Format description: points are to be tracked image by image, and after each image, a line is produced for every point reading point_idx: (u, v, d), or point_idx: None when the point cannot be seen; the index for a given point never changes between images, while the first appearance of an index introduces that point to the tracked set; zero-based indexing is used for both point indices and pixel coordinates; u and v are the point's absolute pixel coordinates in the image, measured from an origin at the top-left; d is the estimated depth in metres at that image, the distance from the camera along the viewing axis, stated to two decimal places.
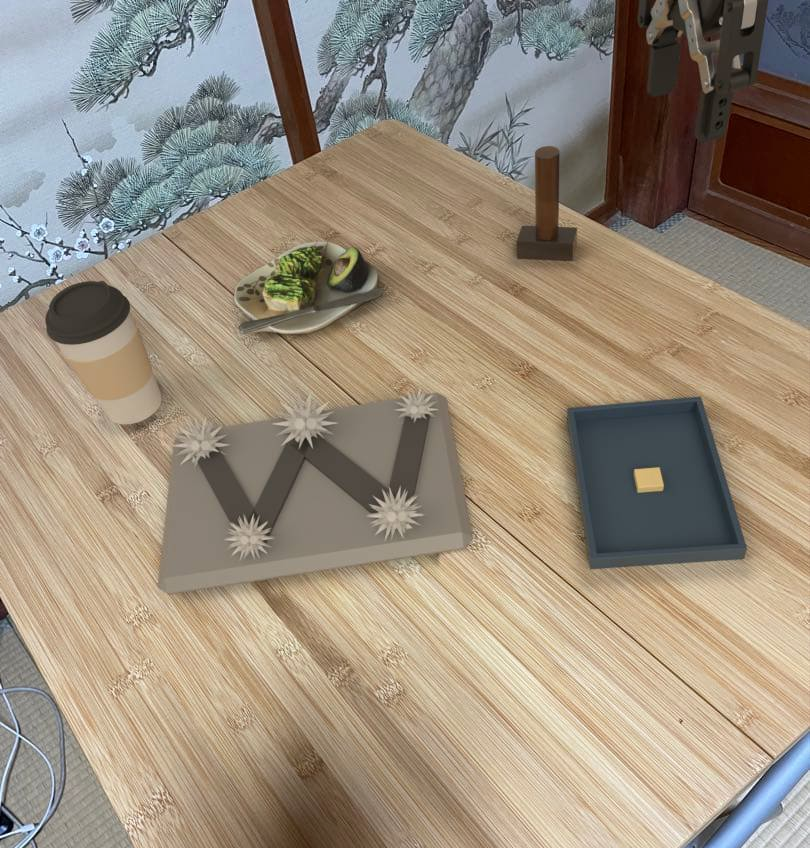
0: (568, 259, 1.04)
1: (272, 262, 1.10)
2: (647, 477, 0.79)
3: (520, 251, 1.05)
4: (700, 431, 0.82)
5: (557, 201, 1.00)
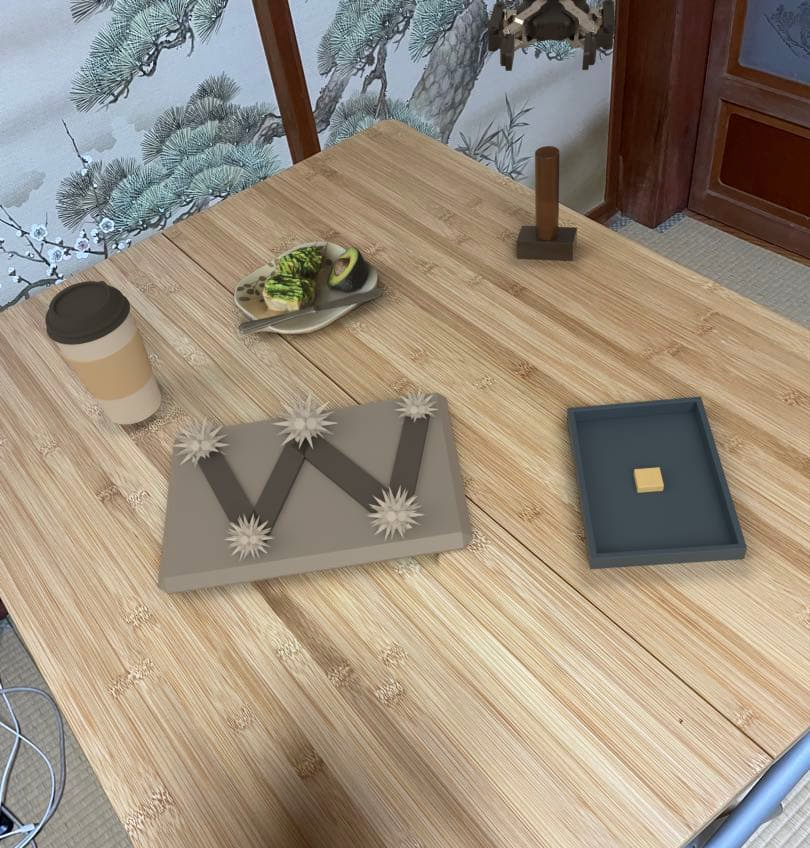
0: (568, 259, 1.04)
1: (272, 262, 1.10)
2: (647, 477, 0.79)
3: (520, 251, 1.05)
4: (700, 431, 0.82)
5: (557, 201, 1.00)
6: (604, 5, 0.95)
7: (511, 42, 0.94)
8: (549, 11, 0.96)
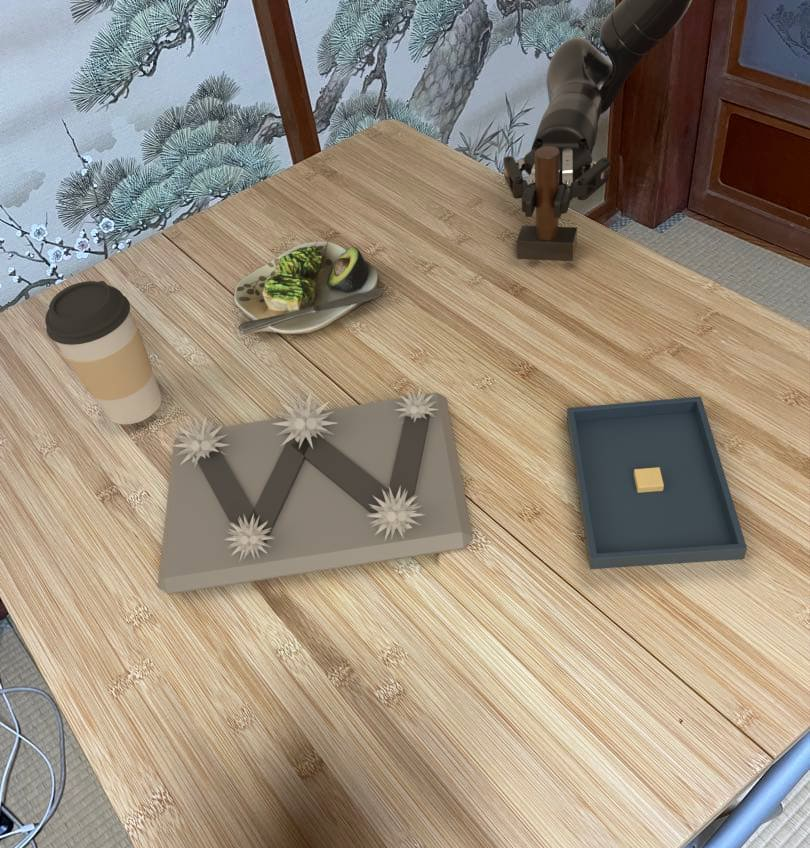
0: (568, 259, 1.04)
1: (272, 262, 1.10)
2: (647, 477, 0.79)
3: (520, 251, 1.05)
4: (700, 431, 0.82)
5: None
6: (599, 161, 1.01)
7: (532, 191, 0.99)
8: None
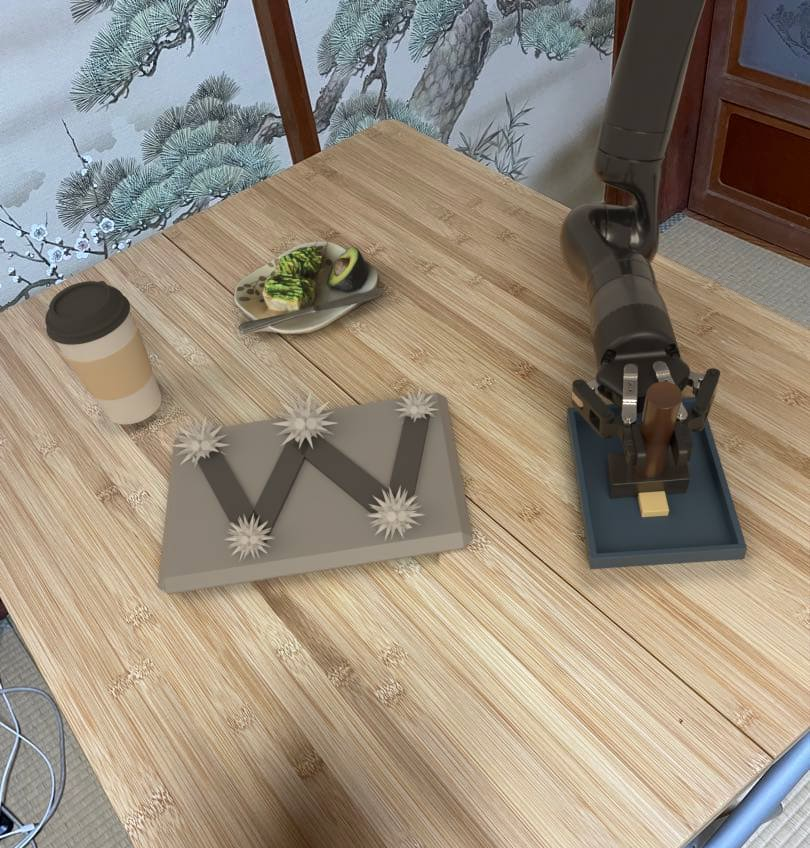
0: (681, 492, 0.78)
1: (272, 262, 1.10)
2: (652, 501, 0.77)
3: (616, 492, 0.78)
4: (700, 431, 0.82)
5: None
6: (706, 375, 0.75)
7: (640, 437, 0.71)
8: (641, 379, 0.76)
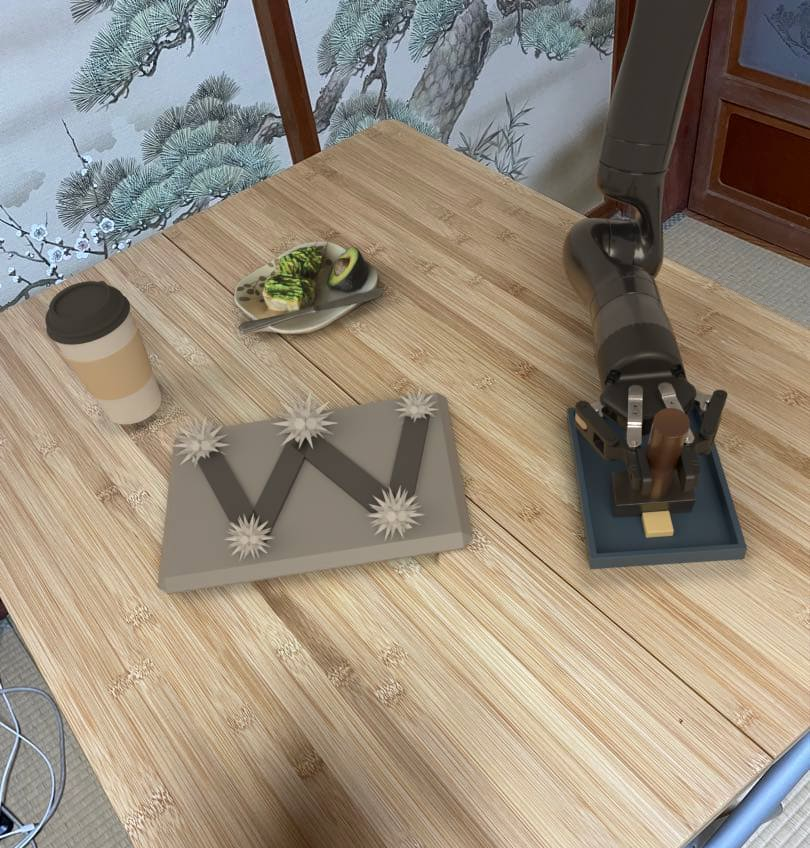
0: (685, 511, 0.76)
1: (272, 262, 1.10)
2: (656, 521, 0.75)
3: (619, 512, 0.76)
4: None
5: None
6: (713, 397, 0.73)
7: (645, 461, 0.70)
8: (646, 401, 0.74)
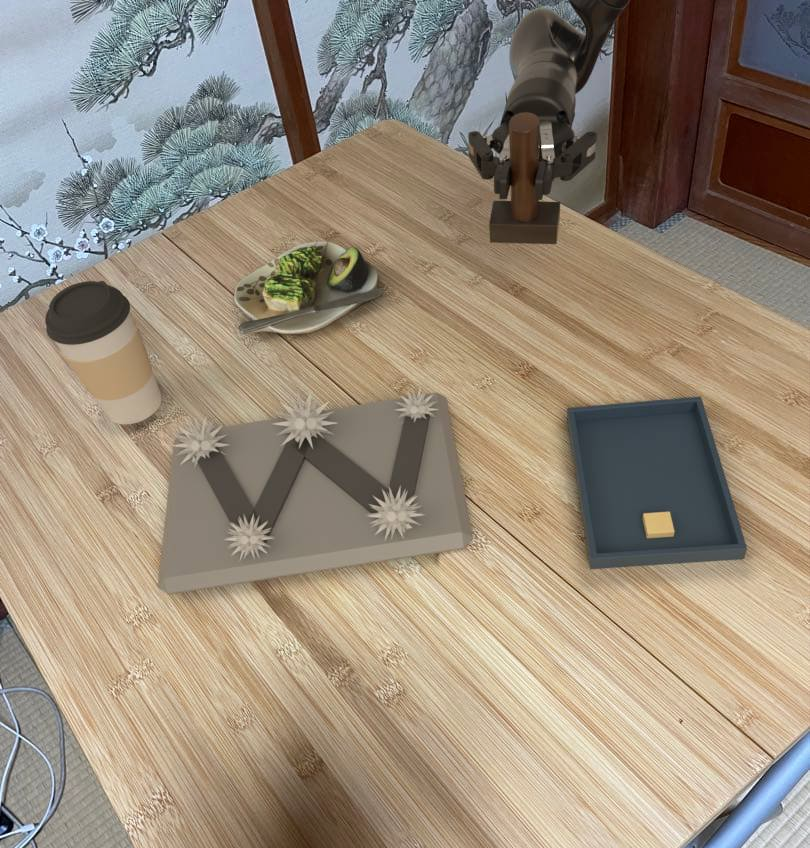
0: (551, 242, 0.87)
1: (272, 262, 1.10)
2: (657, 522, 0.75)
3: (494, 235, 0.88)
4: (700, 431, 0.82)
5: None
6: (584, 135, 0.84)
7: (507, 168, 0.81)
8: None
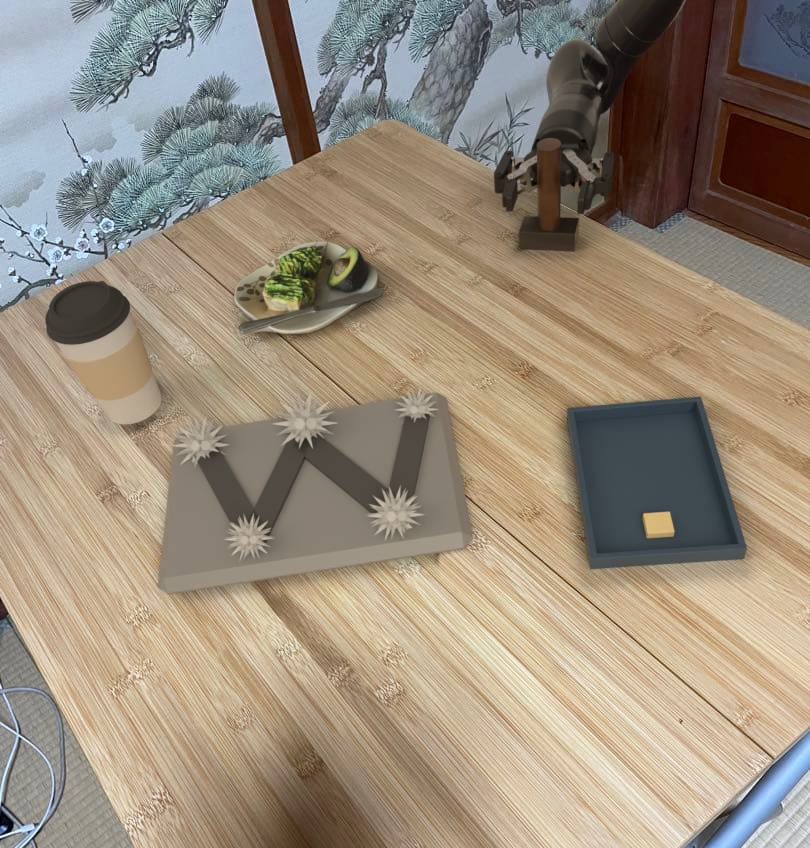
0: (570, 249, 1.05)
1: (272, 262, 1.10)
2: (657, 522, 0.75)
3: (523, 242, 1.06)
4: (700, 431, 0.82)
5: (559, 192, 1.01)
6: (605, 156, 1.02)
7: (513, 186, 1.00)
8: None
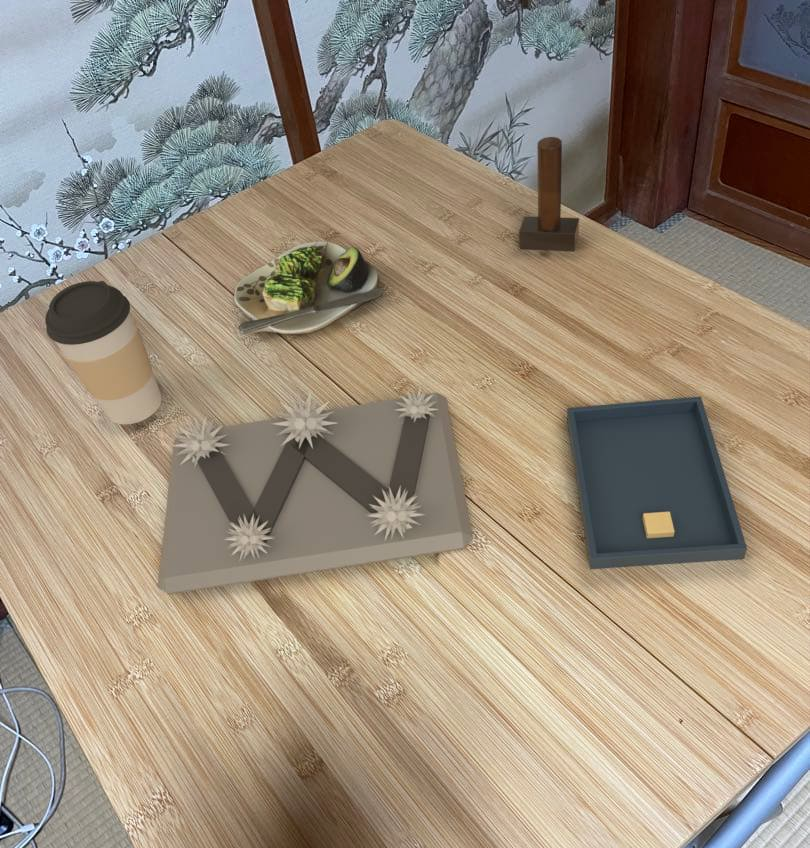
0: (570, 249, 1.05)
1: (272, 262, 1.10)
2: (657, 522, 0.75)
3: (523, 241, 1.06)
4: (700, 431, 0.82)
5: (559, 191, 1.01)
6: None
7: None
8: None
